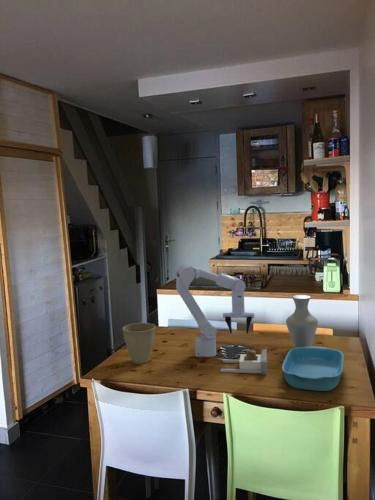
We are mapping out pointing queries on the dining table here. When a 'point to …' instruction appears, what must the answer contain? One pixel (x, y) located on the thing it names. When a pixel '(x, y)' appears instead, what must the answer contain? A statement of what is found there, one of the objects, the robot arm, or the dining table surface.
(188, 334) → the dining table surface
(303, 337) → the vase
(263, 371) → the stop wall
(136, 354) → the plant pot
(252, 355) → the dowel
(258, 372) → the slide board
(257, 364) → the sliding block
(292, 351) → the casserole dish
